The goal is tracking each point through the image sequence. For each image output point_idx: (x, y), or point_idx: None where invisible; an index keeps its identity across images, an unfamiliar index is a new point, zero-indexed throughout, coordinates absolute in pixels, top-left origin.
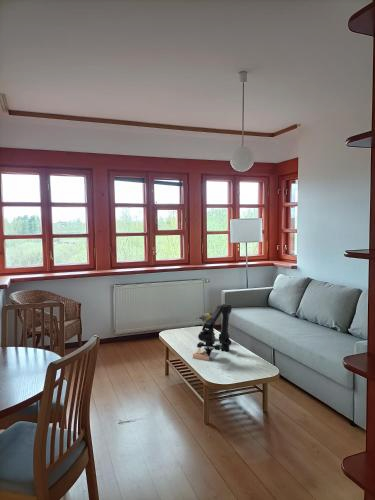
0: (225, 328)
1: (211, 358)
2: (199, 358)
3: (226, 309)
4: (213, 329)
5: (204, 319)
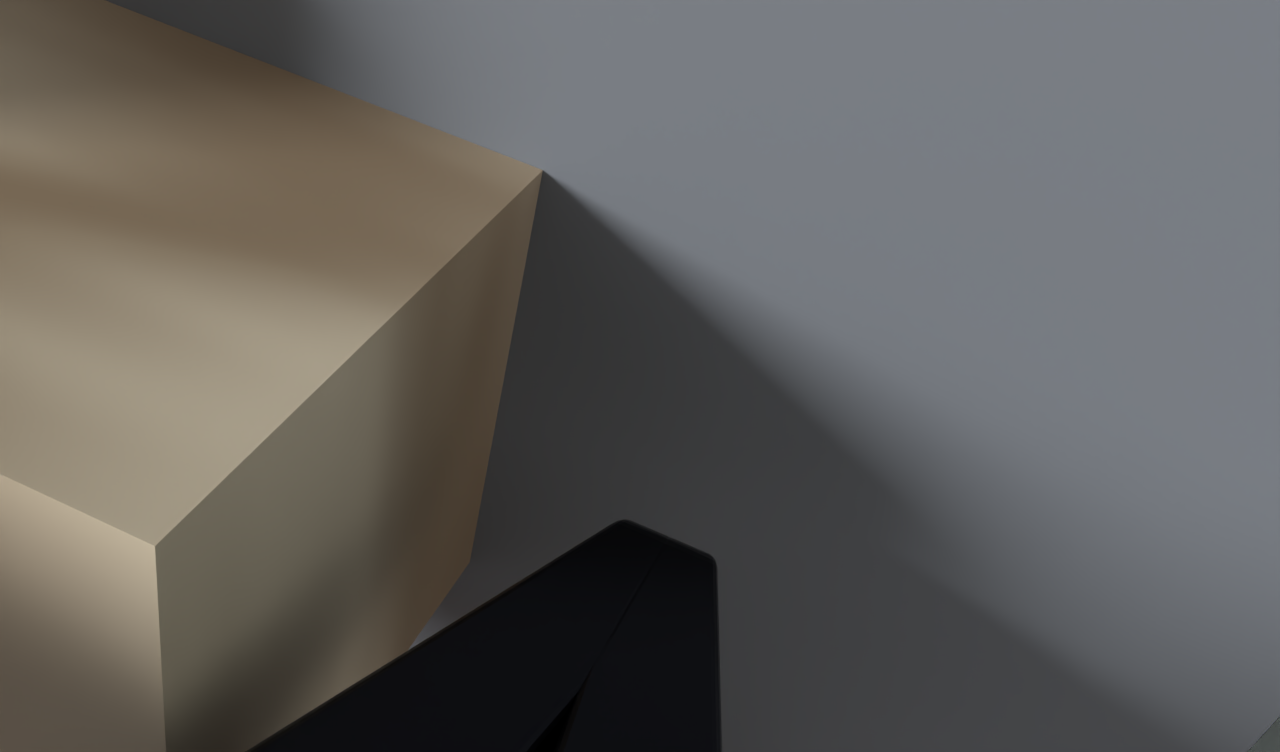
0: None
1: (945, 638)
2: None
3: None
4: None
5: None
